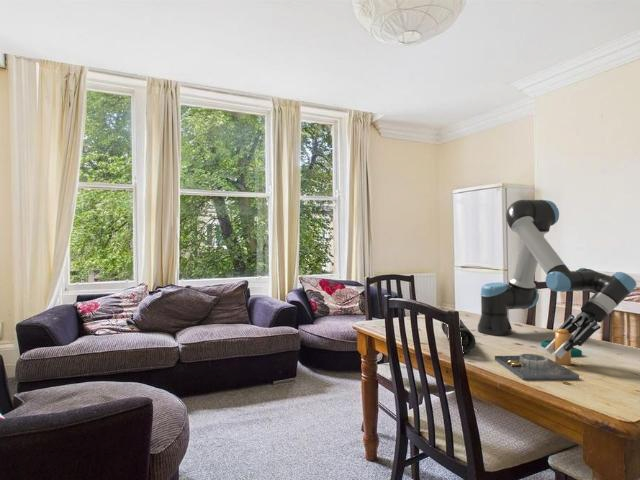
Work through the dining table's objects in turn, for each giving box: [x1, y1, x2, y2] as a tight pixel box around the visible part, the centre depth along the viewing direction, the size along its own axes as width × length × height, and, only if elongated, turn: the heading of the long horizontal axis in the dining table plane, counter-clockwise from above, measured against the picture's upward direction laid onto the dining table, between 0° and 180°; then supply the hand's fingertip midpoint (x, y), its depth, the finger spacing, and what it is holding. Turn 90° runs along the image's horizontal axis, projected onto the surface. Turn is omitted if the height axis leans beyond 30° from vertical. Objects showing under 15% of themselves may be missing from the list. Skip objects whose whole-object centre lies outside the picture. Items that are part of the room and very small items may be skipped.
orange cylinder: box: [554, 328, 572, 366], centre depth 138 cm, size 5×5×12 cm
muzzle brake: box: [441, 319, 476, 355], centre depth 162 cm, size 10×28×10 cm, turn 170°
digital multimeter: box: [540, 339, 583, 357], centre depth 153 cm, size 7×15×3 cm, turn 4°
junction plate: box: [494, 353, 580, 381], centre depth 132 cm, size 20×18×4 cm
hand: (552, 353), depth 138 cm, fingers closed on orange cylinder, 5 cm apart
